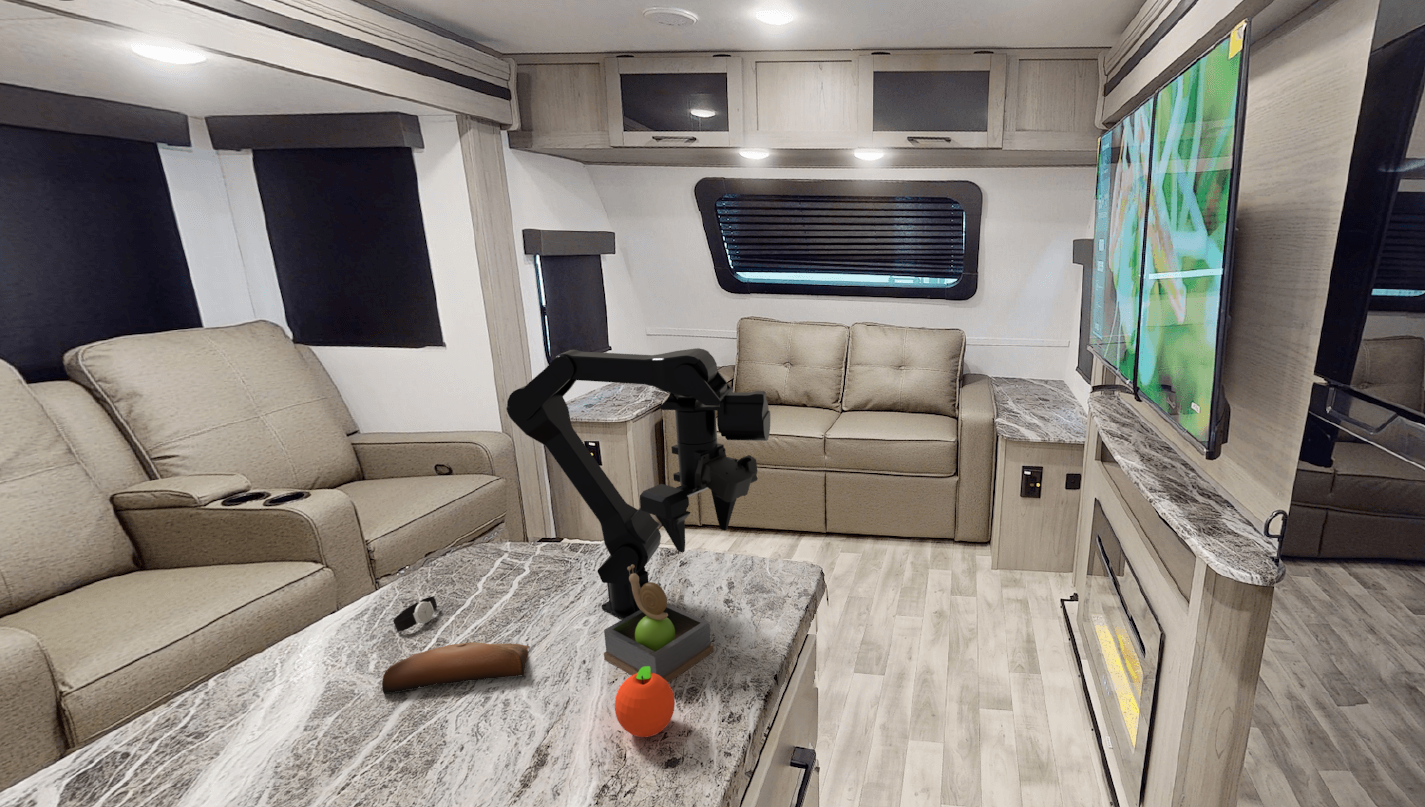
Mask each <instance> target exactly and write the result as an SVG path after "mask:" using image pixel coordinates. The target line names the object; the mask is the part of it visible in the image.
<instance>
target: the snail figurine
mask: <svg viewBox="0 0 1425 807" xmlns="http://www.w3.org/2000/svg"><path fill="white" fill-rule="evenodd" d="M634 567H635V566H634V565H633V564H632V565H631V567H630V566H629V567H628V568H627V569H628V570H629V575H630V570H631V568H632V571H633V568H634ZM629 581H630V582H631V586H632V592H633V595H634V598H635V601H636V603H637V606H638V607H639V609H640V610H641V611H642V612H643V613H644V614H646V615H647V616H645V617H644V618H643V619H641V620H640V622H639V623H638V625H637V627H636V630H635V640H636V642H637V643H639V644H641V645H643V646H645V647H647V648H649V649H651V650H653V651H655V652H656V651H657V650H659V649H661V648H662V647H664V646H665V645H667V644H669V643H670V642H672V641H673V640H675V628H674V625H673V623H672V622H671V621H670V619H669V618H667V616H668V614H667V613H664V612H663V611H664V610H665V609H666V607H667V603H668V597H667V594H666V593H665V591H664V589H663V588H662V587H661V586H660V585H659V584H658V583H656V582H651V581H650V582H649V581H648V583H645V584H644V585H643V586H642V587H641V588H640V585H639V576H638V575H637V574H635V573H633V574H631V575H630V576H629Z"/></svg>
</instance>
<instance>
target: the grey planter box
mask: <svg viewBox="0 0 1425 807" xmlns="http://www.w3.org/2000/svg"><path fill="white" fill-rule="evenodd" d="M663 612H664V613H667V614H668V616H667V618H669V619H670V621H671V622H672V623H673V625H674V628H675V640H673V641H672V642H670V643H669V644H667V645H665V646H664V647H662V648H661V649H659V650H657V651H656V652H655V651H653V650H651V649H649V648H647V647H645V646H643V645H641V644H639V643H637V642H636V640H635V630H636V627H637V625H638V623H639V622H640V620H641V619H643V618H644V617H645V616H647V615H646V614H644V613H643V612H642V611H641V610H639V611H637V612H635V613H633V614H631V615H630V616H628V617H626V618H624V619H621V620H618V621H616V622H615V623H614V624H611V625H610V626H608V627H606V628H605V629H603V632H604V643H605V652H603V659H604V661H606V662H608V663H610V664H611V665H613V666H615V667H617V668H619V669H620V670H622V671H623V672H626V673H627V674H629V675H630V676H632V675H634V674H636V673H638V672H639V670H640V669H641V668H642V667H644V666H650V669H651V671H650V672H651V673H655V674H658V675H660V676H661V677H662V678H664V679H665V680H666V681H667V682H668V684H670V682H672V681H673V680H674V679H675V678H677V677H679V676H680V675H682V674H683V673H684V672H685V673H686V671H687V670H689V669H690V668H692V667H693V666H694V665H696V664H697V663H699V662H701V661H702V660H704V659H705V658H706V657H708V656H709V655H711V654H712V653H714V651H715V650H714V649H715V648H714V644H712V642H711V627H710V621H707V620H705V619H703V618H700V617H698V616H696V615H693V614H692V613H691V612H687V611H685V610H683V609H680V608H679V607H677V606H674V605H671V604H669V603H668V602H667V607H666V609H665V610H664V611H663Z"/></svg>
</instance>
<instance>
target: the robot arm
mask: <svg viewBox="0 0 1425 807" xmlns="http://www.w3.org/2000/svg"><path fill="white" fill-rule="evenodd" d="M577 381H582V382H583V381H584V382H600V383H616V384H617V383H618V384H630V385H631V384H633V385H647V386H651V387H653V388H656V389H659V390H660V391H662V392H665V393H669V395H668V397H667V398H666V399H665V400H664V402H663V403H661V404H660V406H659V409H660V410H661V411H674V414H675V428H676V429H675V430H676V444H675V445H673V446H671V454H673V455H677V460H678V462H677V463H678V472H674V473H673V474H672V476H673V481H675V482H678V483H680V485H679V486H676V487H674V486H671V485H667V484H664V483H660V484H657V485H655V486H653V487H649V488H647V489H644V490H642V493H641V494H640V495H639V506H640V507H639V508H636V507H634V506H632V505H630V504H629V503H628V502H626V501H625V499H624V497H623V496H622V495H621V493H620V492H619V491H618V489H617V488H616V487H615V485H614V484H613V482H612V481H611V480H610V478H609V477H608V475H607V474H606V472H605V471H604V470H603V468H602V467H601V466H600V465H599V463H598V462H597V460H596V458H595V457H594V456H593V454H592V453H591V452H590V450H589V449H588V448H587V446H586V444H585V443H584V441H583V440H582V438H580V436H579V435H578V434H577V431H576V430H574V428H573V425H572V421H571V415H570V410H569V406H568V404H567V403H566V400H565V399H564V396H565V395H566V394H567V393H568V392H569V391H570V390H571V389H572V388H573V386H574V385H575V383H576V382H577ZM505 409H506V412H507V415H508V417H509V419H511V421H512V422H513V423H514V424H515V425H516V426H517V427H518V428H519V429H520V430H521V431H522V432H523V433H524V434H525V435H526V436H528V437H530V438H531V439H533V440H535V441H537V442H538V443H539V444H541V445H543V446H544V447H546V449H547V450H548V452H549V453H550V455H551V456H552V457H553V459H554V460H555V462H556V463H557V464H558V465H559V466H558V467H560V468H561V470H562V471H563V473H564V474H565V476H566V477H567V478H568V480H569V481H570V482H571V484H572V485H573V487H574V488H575V490H576V491H577V492H578V493H579V495H580V497H581V498H582V499H583V500H584V502H585V504H586V505H587V506H588V508H589V509H590V511H591V512H592V514H594V516H595V518H596V519H597V520H598V522H599V524H600V526H601V532H602V537H603V543H604V546H605V547H606V550H607V551H608V553H609V555H608V557H607V559H605V560H604V562H603V563H602V564H601V565H600V566H599V567H598V569H597V574H598V576H599V578H600V580H601V582H602V583H603V584H607V594H608V601H607V602H604V603H602V604H601V610H603V611H605V612H608V613H609V614H611V615H613V616H615V617H617V618H620V619H621V620H623V619H624V618H626V617H628V616H630V615H631V614H633V613H635V612H637V611H639V610H640V609H639V607H638V606H637V603H636V601H635V598H634V595H633V592H632V586H631V582H630V581H629V576H630V575H631V574H633V573H635V574H637V575H638V576H639V585H640V588H641V587H642V586H643V585H644V584H645V583H648V582H649V573H648V571H646V565H647V564H648V562H650V560H651V558H652V557H653V556H654V554H655V553H656V552H657V550H658V549H659V547H660V545H661V541H662V540H661V539H662V535H661V531H660V529H659V526H660V524H661V525H662V527H663V528H664V530H665V531H666V533H667V535H668V537H669V538H670V540H671V542H672V544H673V545H674V547H675V550H677V552H679V553H685V552H686V550H685V548H686V529H685V528H686V527H685V526H686V524H685V523H686V522H685V520H686V519H687V518H688V517H689V516H690V514H691V511H689V510H687V509H688V508H689V506H690V501H689V500H690V499H689V498H690V497H692V496H695V495H697V494H699V493H702V492H704V491H706V490H710V491H711V496H712V501H713V505H714V509H715V514H716V518H717V523H718V525H719V528H720V530H721V531H727V530H728V529H729V524H730V521H731V517H732V514H733V511H734V508H735V506H736V505H735V504H736V503H737V502H736V501H737V499H739V498H740V497H741V498H742V497H745V496H747V495H748V493H749V490H750V488H751V484H753V483H756V481H758V476H757V475H758V465H757V459H756V458H755V457H753V456H752V455H748V454H747V455H746V456H743V457H740V459H738V458H736V457H735V458H734V457H730V456H728V457H727V454H726V448H725V445H724V444H722V443H718V433H719V434H720V437H723V438H724V437H725V440H727V441H752V442H753V441H755V442H760V441H761V442H762V441H763V442H767V441H768V440H769V438H770V431H771V410H770V409H769V403H768V400H767V393H766V391H765V390H755V391H750V392H748V391H747V392H737V391H735V392H733V388H732V386H731V385H730V384H729V383H728V382H727V380H726V379H725V377H724V376H723V375H722V374H721V372H720V371H719V370H718V365H717V362H716V360H715V358H714V357H713V355H712V353H710V352H709V351H708V350H706V349H704V348H699V347H697V348H688V349H683V350H682V349H681V350H674V351H669V352H665V353H659V354H638V353H637V354H636V353H635V354H634V353H618V352H617V353H615V352H614V353H613V352H600V351H599V352H594V351H592V352H591V351H581V350H578V349H569V350H567V351H565V352H562V353H560V354H558V355H556V356H554V358H553V360H552V361H551V362H550V363H549V364H548V365H547V366H546V367H545V368H544V369H543V370H542V371H541V372H540V373H538V375H536V376H535V377H533V379H532V380H530V381H529V382H528V383H527V384H526V385H524V386H522V387H519V388H517V389H515V390H513V391H512V393H510V394H509V396H508V399H507V404H506V408H505ZM716 413H717V414H716ZM717 432H718V433H717ZM652 515H653V516H654V517H656V518H657V519H658V521H659V522H658V521H657V520H655V519H654V518H653V517H652ZM632 564H633V565H634V566H635V567H634V568H633V571H632V568H631V570H630V575H629V570H628V569H627V568H628V567H629V566H630V567H631V565H632Z"/></svg>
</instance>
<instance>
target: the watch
mask: <svg viewBox="0 0 1425 807" xmlns="http://www.w3.org/2000/svg"><path fill="white" fill-rule="evenodd" d="M437 608H438V606H437V601H436V598H435V596H433V595H432V596H429V597H426V598H422V599H421V600H419V601H416V602H415V603H413V604H411V605H410V606H408V607H406V608H404V609H403V610H402V611H401V612H400V613H399V614H397V615H396V616H395V617H394V619H393V621H392V622H393V623H394V626H395V628H396V631H397V632H404V631H405V630H408V629H410V628H412V627H414V626H415V625H418V624H423V625H424V624H426V623H429V622H430V621H431V620H432V618H433V615H434V612H435V610H436V609H437Z"/></svg>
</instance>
